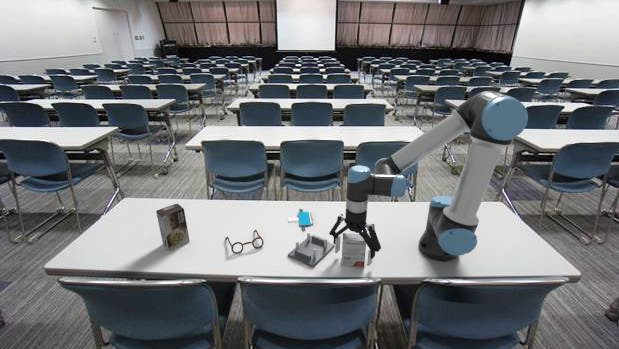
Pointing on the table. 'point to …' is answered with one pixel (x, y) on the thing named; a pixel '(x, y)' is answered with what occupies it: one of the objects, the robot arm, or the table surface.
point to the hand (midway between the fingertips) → (352, 257)
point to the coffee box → (173, 226)
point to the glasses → (246, 243)
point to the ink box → (353, 250)
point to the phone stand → (302, 219)
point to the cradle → (311, 250)
